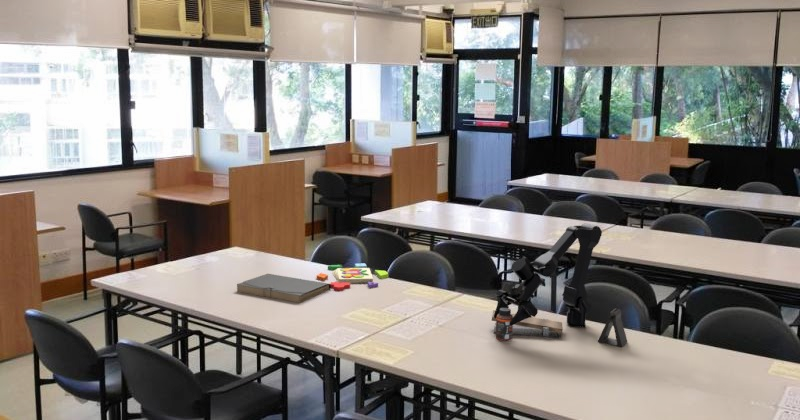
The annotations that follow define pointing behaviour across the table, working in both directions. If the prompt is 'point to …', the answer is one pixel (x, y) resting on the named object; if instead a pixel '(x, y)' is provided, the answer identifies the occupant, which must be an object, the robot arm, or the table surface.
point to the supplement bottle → (504, 325)
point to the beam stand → (532, 331)
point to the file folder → (283, 287)
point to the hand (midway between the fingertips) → (502, 320)
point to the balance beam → (538, 323)
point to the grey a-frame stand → (615, 320)
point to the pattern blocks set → (351, 276)
